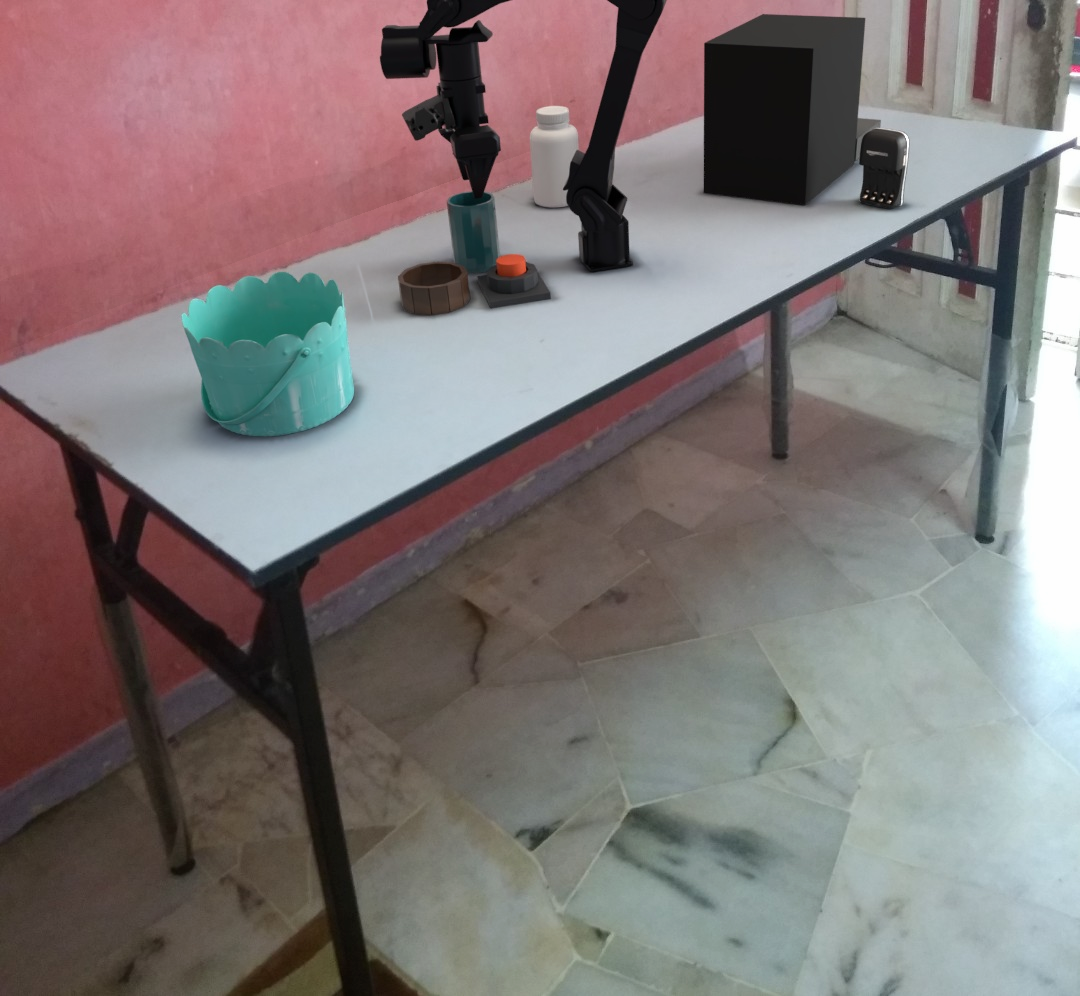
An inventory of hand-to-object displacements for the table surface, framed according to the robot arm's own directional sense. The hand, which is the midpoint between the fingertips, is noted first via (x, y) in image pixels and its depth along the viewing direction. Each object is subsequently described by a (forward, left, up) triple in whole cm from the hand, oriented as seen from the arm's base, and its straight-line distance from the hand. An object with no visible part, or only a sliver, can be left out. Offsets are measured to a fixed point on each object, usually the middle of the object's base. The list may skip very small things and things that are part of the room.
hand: (472, 188), depth 164 cm
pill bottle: (-18, -23, -12) cm, 31 cm away
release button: (-2, +12, -9) cm, 15 cm away
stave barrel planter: (+8, +12, -11) cm, 18 cm away
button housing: (-3, +12, -11) cm, 17 cm away
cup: (0, 0, -11) cm, 11 cm away
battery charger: (-64, +1, -12) cm, 65 cm away
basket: (+30, +35, -12) cm, 48 cm away
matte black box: (-60, -22, -11) cm, 64 cm away
